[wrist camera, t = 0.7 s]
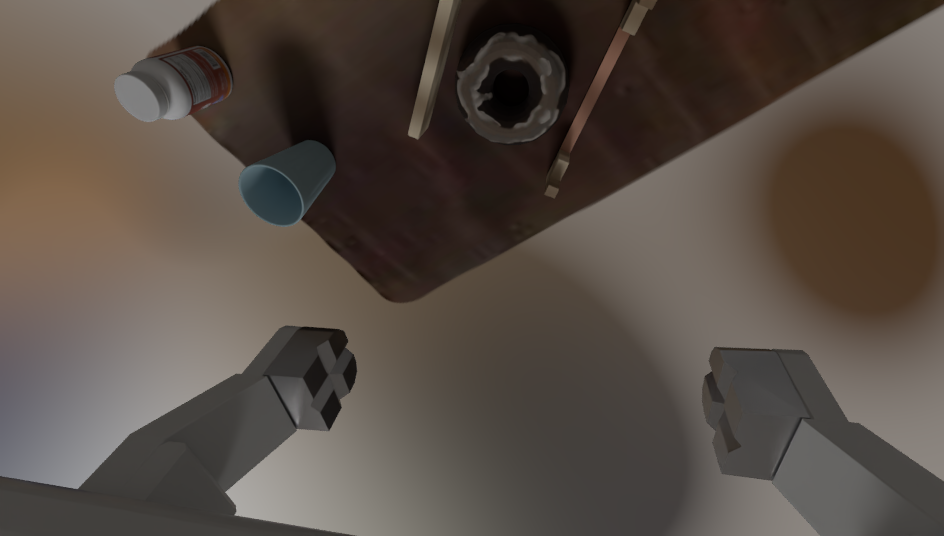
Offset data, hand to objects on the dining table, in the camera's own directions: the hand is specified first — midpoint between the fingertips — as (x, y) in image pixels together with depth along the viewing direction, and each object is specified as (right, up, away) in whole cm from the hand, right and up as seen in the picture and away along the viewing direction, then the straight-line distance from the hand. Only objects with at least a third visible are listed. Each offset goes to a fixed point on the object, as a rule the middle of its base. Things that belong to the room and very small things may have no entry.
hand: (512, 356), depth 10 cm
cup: (-21, +16, +47) cm, 54 cm away
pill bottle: (-32, +26, +42) cm, 59 cm away
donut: (+4, +22, +36) cm, 42 cm away
